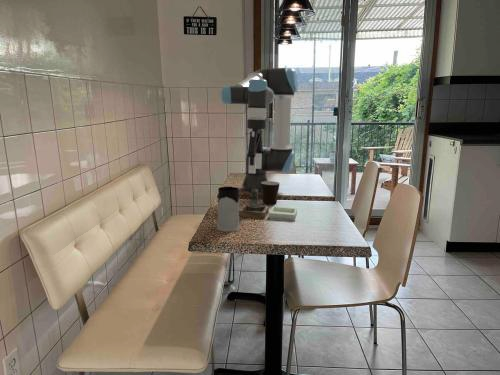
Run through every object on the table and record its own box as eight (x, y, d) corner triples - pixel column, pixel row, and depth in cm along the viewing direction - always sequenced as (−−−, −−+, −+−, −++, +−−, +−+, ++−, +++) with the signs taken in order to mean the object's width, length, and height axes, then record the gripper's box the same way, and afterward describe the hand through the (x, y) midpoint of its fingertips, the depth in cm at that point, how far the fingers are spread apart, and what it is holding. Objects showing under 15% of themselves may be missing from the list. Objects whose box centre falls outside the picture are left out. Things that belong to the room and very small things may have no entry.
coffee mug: (272, 206, 174) (272, 185, 172) (257, 203, 179) (257, 182, 177) (285, 202, 183) (286, 182, 181) (270, 199, 188) (271, 179, 186)
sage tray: (272, 212, 165) (272, 206, 164) (296, 214, 163) (297, 208, 162) (268, 218, 155) (269, 212, 154) (294, 220, 153) (295, 215, 152)
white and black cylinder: (214, 230, 138) (214, 190, 135) (222, 219, 152) (222, 183, 149) (237, 232, 137) (238, 191, 134) (243, 221, 151) (244, 184, 148)
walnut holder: (244, 209, 167) (244, 204, 167) (268, 211, 165) (268, 206, 165) (238, 216, 157) (238, 210, 156) (264, 218, 155) (264, 212, 154)
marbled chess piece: (244, 213, 161) (244, 186, 159) (254, 211, 165) (254, 184, 163) (254, 216, 157) (254, 188, 155) (263, 214, 161) (264, 186, 159)
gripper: (253, 118, 166) (252, 166, 170) (240, 119, 142) (239, 174, 146) (270, 118, 164) (268, 167, 168) (260, 119, 140) (258, 176, 144)
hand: (255, 170), depth 157 cm, fingers open, 13 cm apart
